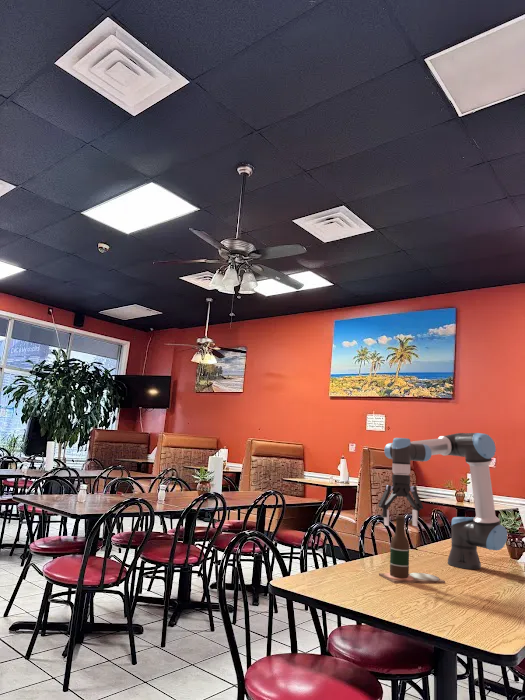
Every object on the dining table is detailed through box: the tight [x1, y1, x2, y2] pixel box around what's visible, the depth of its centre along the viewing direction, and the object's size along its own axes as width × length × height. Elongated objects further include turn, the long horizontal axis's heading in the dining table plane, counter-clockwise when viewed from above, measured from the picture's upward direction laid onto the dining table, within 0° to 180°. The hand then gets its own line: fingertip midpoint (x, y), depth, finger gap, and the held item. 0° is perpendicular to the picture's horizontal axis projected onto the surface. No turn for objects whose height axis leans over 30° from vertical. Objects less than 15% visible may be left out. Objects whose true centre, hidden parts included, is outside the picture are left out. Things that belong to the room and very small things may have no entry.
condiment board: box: [378, 572, 446, 584], centre depth 212 cm, size 24×12×1 cm, turn 106°
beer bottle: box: [389, 515, 410, 578], centre depth 213 cm, size 8×8×24 cm
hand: (400, 525), depth 214 cm, fingers open, 13 cm apart
